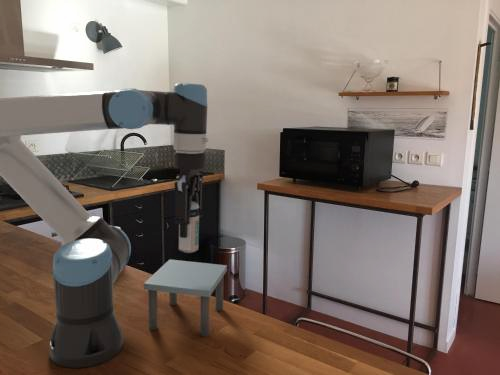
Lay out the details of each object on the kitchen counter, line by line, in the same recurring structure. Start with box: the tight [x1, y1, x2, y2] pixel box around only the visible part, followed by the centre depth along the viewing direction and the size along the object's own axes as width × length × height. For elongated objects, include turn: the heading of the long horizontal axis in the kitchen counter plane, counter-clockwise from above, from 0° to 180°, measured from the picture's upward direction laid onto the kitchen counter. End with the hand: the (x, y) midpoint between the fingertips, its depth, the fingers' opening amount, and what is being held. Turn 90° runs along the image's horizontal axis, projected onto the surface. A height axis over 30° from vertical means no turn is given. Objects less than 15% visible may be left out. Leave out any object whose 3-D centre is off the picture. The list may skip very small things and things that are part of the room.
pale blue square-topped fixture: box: [143, 259, 228, 338], centre depth 108 cm, size 16×16×12 cm
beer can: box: [178, 201, 200, 254], centre depth 104 cm, size 5×5×12 cm
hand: (188, 245), depth 105 cm, fingers closed on beer can, 5 cm apart
